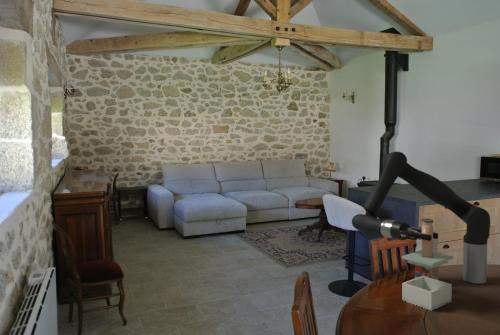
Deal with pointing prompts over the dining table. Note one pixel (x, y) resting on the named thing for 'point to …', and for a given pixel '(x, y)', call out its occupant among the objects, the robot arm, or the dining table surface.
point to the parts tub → (426, 292)
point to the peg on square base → (427, 253)
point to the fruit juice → (433, 271)
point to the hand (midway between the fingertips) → (434, 237)
